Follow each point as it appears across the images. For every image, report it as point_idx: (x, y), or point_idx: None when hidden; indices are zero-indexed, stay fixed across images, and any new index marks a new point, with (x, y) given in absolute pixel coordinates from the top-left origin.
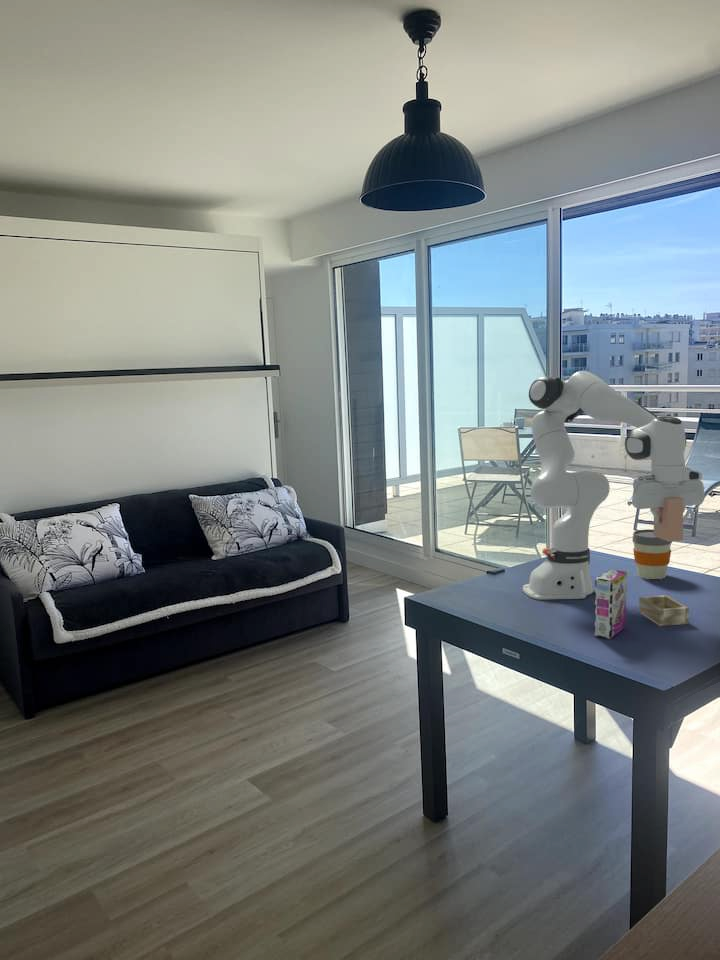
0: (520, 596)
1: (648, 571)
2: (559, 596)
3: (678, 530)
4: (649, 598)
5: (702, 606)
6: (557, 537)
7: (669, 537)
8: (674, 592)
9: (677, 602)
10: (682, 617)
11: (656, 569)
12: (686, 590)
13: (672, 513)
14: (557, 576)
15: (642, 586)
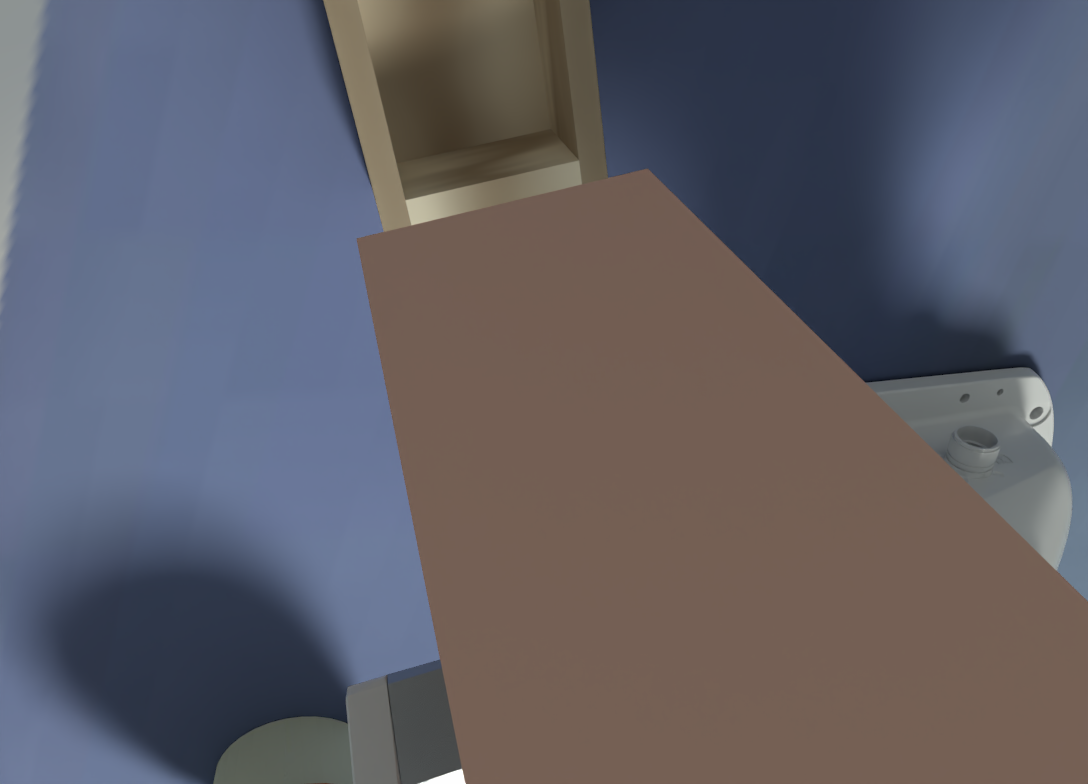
0: (1074, 418)
1: (334, 757)
2: (936, 385)
3: (488, 310)
4: (534, 167)
5: (78, 264)
6: None
7: (647, 204)
8: (225, 530)
9: (346, 25)
10: None
11: (287, 771)
12: (135, 570)
13: (853, 551)
14: (997, 486)
15: (397, 611)
